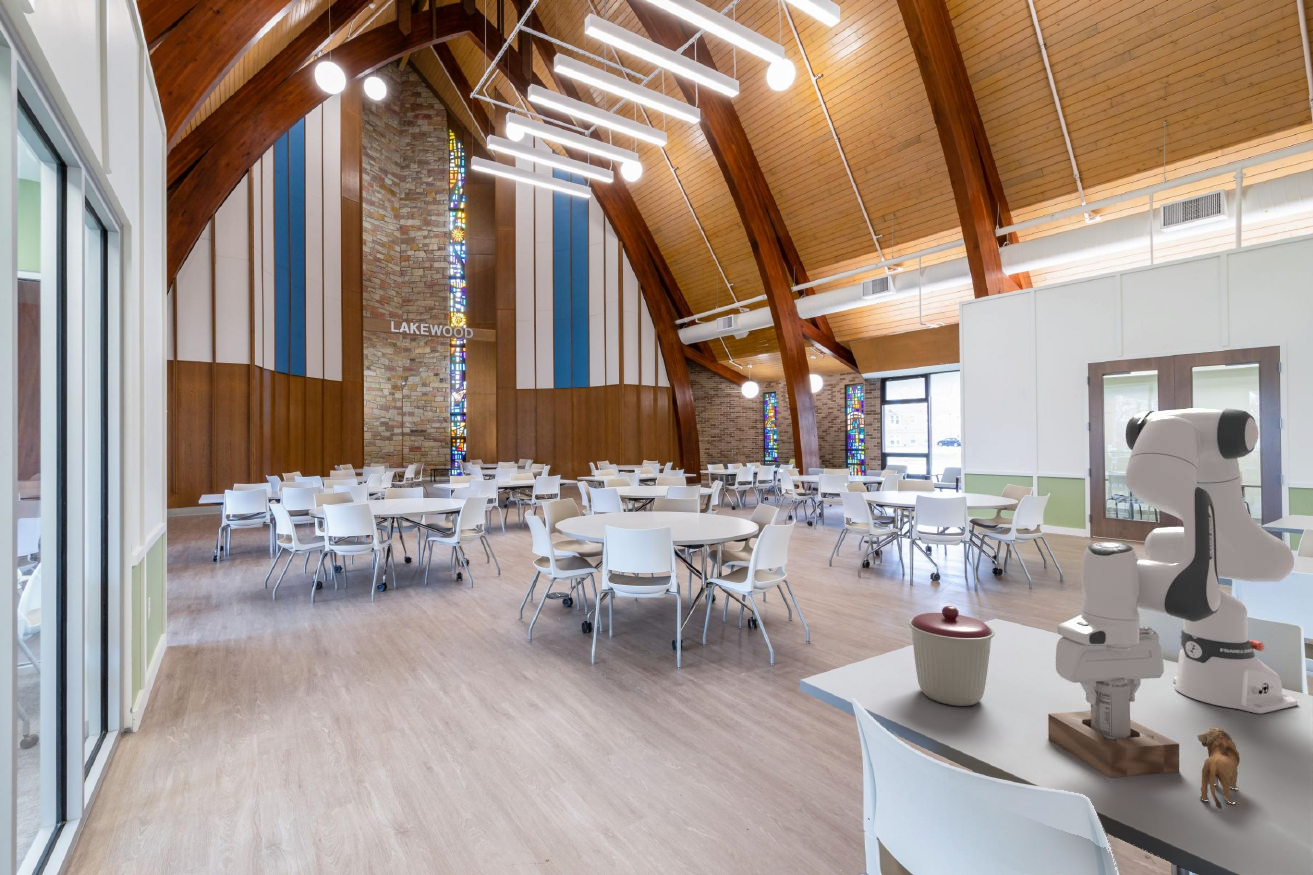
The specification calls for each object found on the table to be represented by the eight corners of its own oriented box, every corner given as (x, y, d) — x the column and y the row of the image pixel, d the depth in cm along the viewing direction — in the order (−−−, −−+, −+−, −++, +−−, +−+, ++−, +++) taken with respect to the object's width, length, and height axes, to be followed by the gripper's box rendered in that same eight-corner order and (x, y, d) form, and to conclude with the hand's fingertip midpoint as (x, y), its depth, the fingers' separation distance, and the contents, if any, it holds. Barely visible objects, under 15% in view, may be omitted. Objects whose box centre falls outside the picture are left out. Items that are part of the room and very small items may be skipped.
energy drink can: (1138, 762, 111) (1136, 681, 111) (1102, 760, 112) (1101, 680, 112) (1118, 746, 117) (1117, 669, 117) (1084, 744, 118) (1083, 667, 118)
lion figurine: (1197, 769, 109) (1197, 719, 109) (1238, 780, 105) (1237, 729, 105) (1199, 806, 98) (1199, 750, 98) (1245, 819, 94) (1244, 762, 94)
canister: (978, 684, 147) (978, 598, 147) (1007, 717, 129) (1007, 619, 129) (900, 679, 150) (900, 594, 150) (918, 710, 132) (918, 615, 133)
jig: (1110, 734, 122) (1110, 709, 122) (1179, 771, 108) (1179, 743, 108) (1048, 738, 120) (1048, 713, 120) (1110, 777, 106) (1110, 748, 106)
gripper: (1142, 622, 119) (1142, 692, 118) (1049, 625, 116) (1049, 697, 116) (1173, 631, 112) (1174, 705, 112) (1076, 636, 110) (1077, 712, 109)
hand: (1110, 701), depth 114 cm, fingers closed on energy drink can, 6 cm apart
